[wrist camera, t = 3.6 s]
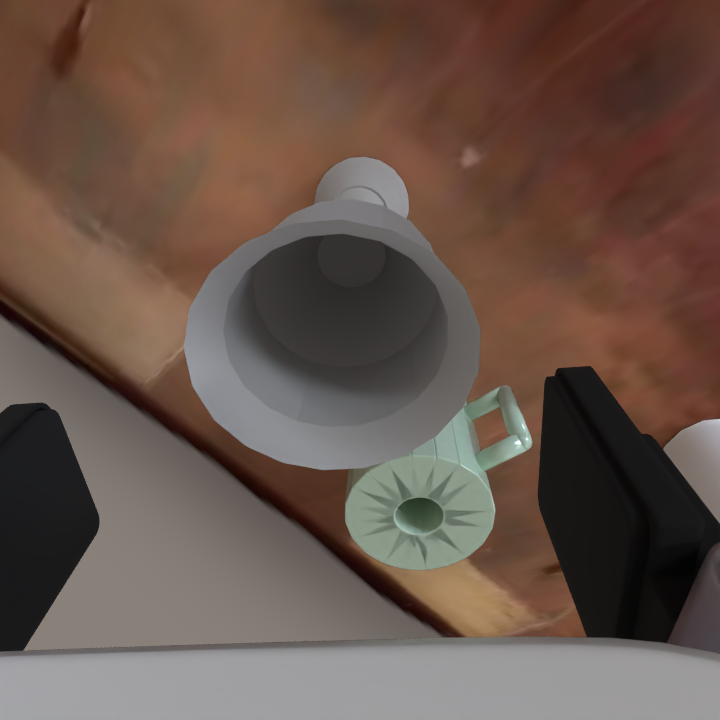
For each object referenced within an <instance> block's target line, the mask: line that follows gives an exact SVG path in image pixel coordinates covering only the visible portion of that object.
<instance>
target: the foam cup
mask: <svg viewBox="0 0 720 720" xmlns="http://www.w3.org/2000/svg"><path fill="white" fill-rule="evenodd" d="M663 450H664V451H665V453H666V454H667V455H668V457H669V458H670V459H671V461H672V462H673V463H674V465H675V466H676V467H677V468H678V470H679V471H680V472H681V474H682V475H683V476H684V478H685V479H686V480H687V481H688V483H689V484H690V485H691V487H692V488H693V489H694V491H695V492H696V493H697V494H698V496H699V497H700V498H701V500H702V501H703V502H704V504H705V505H706V506H707V508H708V509H709V510H710V511H711V513H712V514H713V515H714V517H715V518H716V519H717V521H718V522H719V523H720V419H712V420H703V421H701V422H698V423H696V424H694V425H692V426H690V427H688V428H685V429H683V430H681V431H680V432H679V433H678V434H677V435H676V436H675V437H674V438H673V439H671V440H670V441H669V442H668V443H667V444H666V445H665V446H664V449H663Z"/></svg>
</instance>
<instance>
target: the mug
mask: <svg viewBox="0 0 720 720" xmlns="http://www.w3.org/2000/svg"><path fill="white" fill-rule="evenodd" d="M498 407H499V408H500V411H501V413H502V416H503V419H504V422H505V425H506V428H507V431H508V434H509V437H507V438H505V439H503V440H501V441H499V442H497V443H495V444H494V445H492V446H490V447H488V448H486V449H484V450H482V451H481V449H480V445H479V441H478V437H477V433H476V429H475V425H474V420H475V419H477V418H479V417H481V416H483V415H485V414H487V413H488V412H490V411H492V410H494V409H496V408H498ZM531 445H532V438H531V436H530V433H529V431H528V428H527V426H526V423H525V421H524V418H523V416H522V413H521V411H520V408H519V406H518V403H517V401H516V398H515V396H514V393H513V391H512V389H511V388H510V387H508V386H505V385H503V386H500V387H498V388H496V389H494V390H493V391H491V392H489V393H487V394H485V395H483V396H482V397H480V398H478V399H476V400H474V401H472V402H471V403H469V404H468V402H467V400H466V402H465V404H464V406H463V408H462V409H461V410H460V411H459V412H458V413H457V414H456V415H455V417H454V418H453V419H452V420H451V421H450V422H449V423H448V424H447V425H446V426H445V427H444V428H443V430H442V431H441V432H440V433H439V434H438V435H437V436H436V437H434V438H433V439H431V440H429V441H428V442H426V443H424V444H423V445H421V446H419V447H418V448H416V449H414V450H412V451H411V452H409V453H407V454H406V455H404V456H402V457H400V458H396V459H393V460H389V461H386V462H382V463H379V464H376V465H372V466H369V467H365V468H355V469H348V478H347V488H346V498H345V523H346V526H347V528H348V530H349V533H350V535H351V537H352V539H353V540H354V541H355V542H356V543H357V544H358V546H359V547H360V548H361V549H362V550H363V551H364V552H366V554H368V555H370V556H371V557H373V558H375V559H377V560H378V561H380V562H382V563H384V564H387V565H390V566H394V567H398V568H401V569H408V570H430V569H435V568H440V567H446V566H449V565H451V564H454V563H456V562H458V561H460V560H462V559H465V558H466V557H468V556H469V555H471V554H472V553H473V552H474V551H475V550H477V549H478V548H479V547H480V546H481V545H482V544H483V543H484V541H485V540H486V538H487V536H488V535H489V533H490V532H491V530H492V527H493V523H494V517H495V505H494V501H493V497H492V493H491V489H490V485H489V481H488V477H487V473H486V471H487V470H489V469H491V468H493V467H495V466H497V465H499V464H501V463H503V462H505V461H507V460H509V459H511V458H513V457H515V456H517V455H519V454H521V453H523V452H525V451H527V450H528V449H530V447H531Z"/></svg>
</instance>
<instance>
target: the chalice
mask: <svg viewBox="0 0 720 720" xmlns="http://www.w3.org/2000/svg"><path fill="white" fill-rule="evenodd" d="M408 212H409V200H408V193H407V191H406V188H405V185H404V182H403V180H402V179H401V178H400V177H399V175H398V174H397V173H396V172H395V170H394V169H393V168H391V167H390V166H388V165H387V164H385V163H383V162H382V161H380V160H376V159H373V158H369V157H355V158H348V159H346V160H344V161H342V162H339V163H337V164H335V165H334V166H333V167H332V168H331V169H330V170H329V171H327V172H326V173H325V174H324V176H323V177H322V179H321V181H320V183H319V185H318V186H317V189H316V194H315V199H314V205H312V206H309V207H307V208H304V209H302V210H299V211H297V212H294V213H292V214H291V215H289V216H288V217H287V218H286V219H285V220H283V221H282V222H281V223H280V224H279V225H277V226H276V227H275V228H274V229H273V230H271V231H270V232H269V233H267V234H264V235H262V236H259V237H257V238H254V239H252V240H249V241H247V242H245V243H244V244H243V245H241V246H240V247H239V248H238V249H237V250H235V251H234V252H233V253H232V254H231V255H229V256H228V257H227V258H226V259H225V260H224V261H222V262H221V263H220V264H219V265H218V266H216V267H215V268H214V269H213V270H212V271H211V272H210V274H209V275H208V277H207V279H206V280H205V282H204V284H203V286H202V287H201V289H200V291H199V293H198V294H197V296H196V298H195V299H194V301H193V303H192V305H191V306H190V309H189V316H188V322H187V329H186V336H185V342H184V351H185V356H186V360H187V364H188V369H189V373H190V377H191V382H192V386H193V388H194V389H195V391H196V393H197V394H198V396H199V397H200V399H201V400H202V402H203V403H204V405H205V407H206V408H207V410H208V411H209V413H210V414H211V416H212V417H213V419H214V420H215V421H216V422H217V423H218V424H220V425H221V426H222V427H223V428H224V429H226V430H227V431H228V432H229V433H230V434H232V435H233V436H234V437H235V438H236V439H238V440H239V441H240V442H241V443H242V444H244V445H245V446H247V447H249V448H251V449H253V450H256V451H258V452H260V453H262V454H264V455H267V456H269V457H271V458H273V459H275V460H278V461H280V462H282V463H287V464H292V465H298V466H303V467H309V468H314V469H319V470H335V469H355V468H365V467H369V466H372V465H376V464H379V463H382V462H386V461H389V460H393V459H396V458H400V457H402V456H404V455H406V454H407V453H409V452H411V451H412V450H414V449H416V448H418V447H419V446H421V445H423V444H424V443H426V442H428V441H429V440H431V439H433V438H434V437H436V436H437V435H438V434H439V433H440V432H441V431H442V430H443V428H444V427H445V426H446V425H447V424H448V423H449V422H450V421H451V420H452V419H453V418H454V417H455V415H456V414H457V413H458V412H459V411H460V410H461V409H462V408H463V406H464V404H465V402H466V400H467V397H468V395H469V393H470V390H471V388H472V386H473V384H474V381H475V379H476V377H477V374H478V372H479V362H480V335H481V329H480V326H479V323H478V321H477V318H476V315H475V313H474V310H473V307H472V304H471V302H470V299H469V296H468V294H467V291H466V289H465V287H464V286H463V285H462V284H461V283H460V282H459V281H458V279H457V278H456V277H455V276H454V275H453V274H452V273H451V272H450V270H449V269H448V268H447V267H446V266H445V265H444V264H443V263H442V261H441V260H440V259H439V258H438V257H437V256H436V255H435V254H434V252H433V250H432V247H431V245H430V243H429V242H428V241H427V239H426V238H425V237H424V236H423V235H422V234H421V233H420V231H419V230H418V229H417V228H416V227H415V226H414V225H413V224H412V222H411V221H409V220H408V219H407V216H408Z"/></svg>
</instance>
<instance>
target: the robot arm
mask: <svg viewBox="0 0 720 720" xmlns="http://www.w3.org/2000/svg"><path fill="white" fill-rule="evenodd" d="M538 501H539V507H540V511H541V514H542V517H543V520H544V522H545V525H546V528H547V531H548V533H549V536H550V539H551V541H552V544H553V547H554V549H555V552H556V555H557V557H558V560H559V563H560V566H561V568H562V571H563V574H564V576H565V579H566V582H567V584H568V587H569V590H570V592H571V595H572V598H573V601H574V603H575V606H576V609H577V611H578V614H579V617H580V619H581V622H582V625H583V627H584V630H585V633H586V636H587V637H470V638H414V639H377V640H342V641H341V640H340V641H302V642H265V643H234V644H203V645H171V646H145V647H144V646H141V647H113V648H112V647H111V648H81V649H55V650H28V651H23V649H24V648H25V647H26V645H27V644H28V642H29V640H30V639H31V637H32V636H33V634H34V632H35V631H36V629H37V628H38V626H39V625H40V623H41V621H42V620H43V618H44V617H45V615H46V613H47V612H48V610H49V609H50V607H51V605H52V604H53V602H54V600H55V599H56V597H57V596H58V594H59V592H60V591H61V589H62V588H63V586H64V585H65V583H66V581H67V580H68V578H69V577H70V575H71V574H72V572H73V570H74V569H75V567H76V566H77V564H78V563H79V561H80V559H81V558H82V556H83V555H84V553H85V551H86V550H87V548H88V547H89V545H90V544H91V542H92V540H93V539H94V537H95V536H96V534H97V531H98V528H99V515H98V512H97V509H96V507H95V504H94V502H93V499H92V497H91V494H90V492H89V489H88V486H87V484H86V481H85V479H84V477H83V474H82V471H81V469H80V466H79V464H78V461H77V459H76V456H75V454H74V451H73V449H72V446H71V443H70V441H69V438H68V436H67V433H66V431H65V428H64V426H63V423H62V421H61V418H60V416H59V414H58V413H57V412H56V411H55V410H53V409H51V408H50V407H49V406H48V405H47V404H44V403H29V404H15V405H10V406H9V407H7V408H6V409H5V410H4V411H2V412H1V413H0V720H720V523H719V522H718V521H717V519H716V518H715V517H714V515H713V514H712V513H711V511H710V510H709V509H708V508H707V506H706V505H705V504H704V502H703V501H702V500H701V498H700V497H699V496H698V494H697V493H696V492H695V491H694V489H693V488H692V487H691V485H690V484H689V483H688V481H687V480H686V479H685V478H684V476H683V475H682V474H681V472H680V471H679V470H678V468H677V467H676V466H675V465H674V463H673V462H672V461H671V459H670V458H669V457H668V455H667V454H666V453H665V451H664V450H663V449H662V448H661V446H660V445H659V444H658V442H657V441H656V440H655V439H654V438H653V437H652V436H651V435H648V434H641V433H640V432H639V430H638V429H637V428H636V426H635V425H634V423H633V422H632V421H631V419H630V418H629V417H628V415H627V414H626V413H625V411H624V410H623V409H622V407H621V406H620V405H619V403H618V402H617V400H616V399H615V398H614V396H613V395H612V394H611V392H610V391H609V390H608V388H607V387H606V386H605V384H604V383H603V382H602V380H601V379H600V378H599V376H598V375H597V373H596V372H595V371H594V369H593V368H592V367H591V366H585V367H570V368H558V369H557V370H556V373H555V376H552V377H547V378H546V380H545V385H544V402H543V418H542V434H541V450H540V467H539V483H538Z"/></svg>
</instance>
